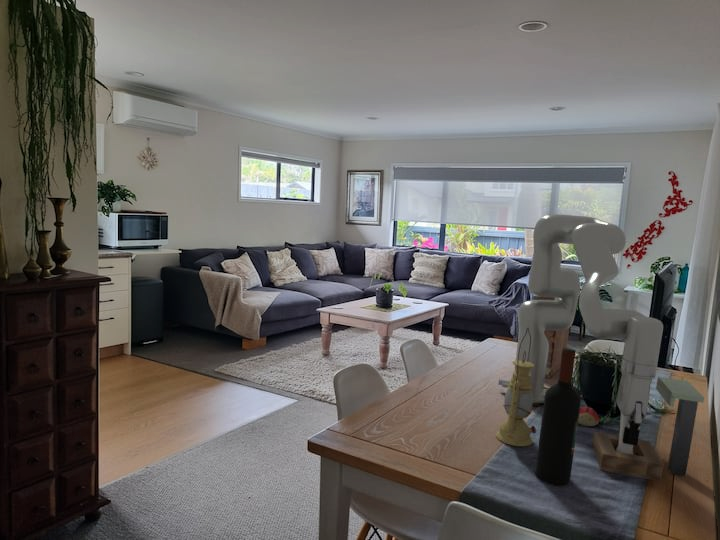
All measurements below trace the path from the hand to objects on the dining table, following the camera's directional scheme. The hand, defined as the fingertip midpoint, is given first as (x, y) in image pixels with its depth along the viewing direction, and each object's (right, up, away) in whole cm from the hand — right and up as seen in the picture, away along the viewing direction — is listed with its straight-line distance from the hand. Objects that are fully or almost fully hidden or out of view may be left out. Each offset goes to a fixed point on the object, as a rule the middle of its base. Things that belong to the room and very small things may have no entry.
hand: (627, 438), depth 130 cm
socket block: (0, -6, +1) cm, 6 cm away
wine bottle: (-22, -6, -9) cm, 24 cm away
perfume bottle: (0, -4, +1) cm, 4 cm away
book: (+6, +3, +74) cm, 74 cm away
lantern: (-25, -3, +9) cm, 27 cm away
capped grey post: (+9, -7, -2) cm, 11 cm away
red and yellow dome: (+1, -3, +25) cm, 26 cm away
